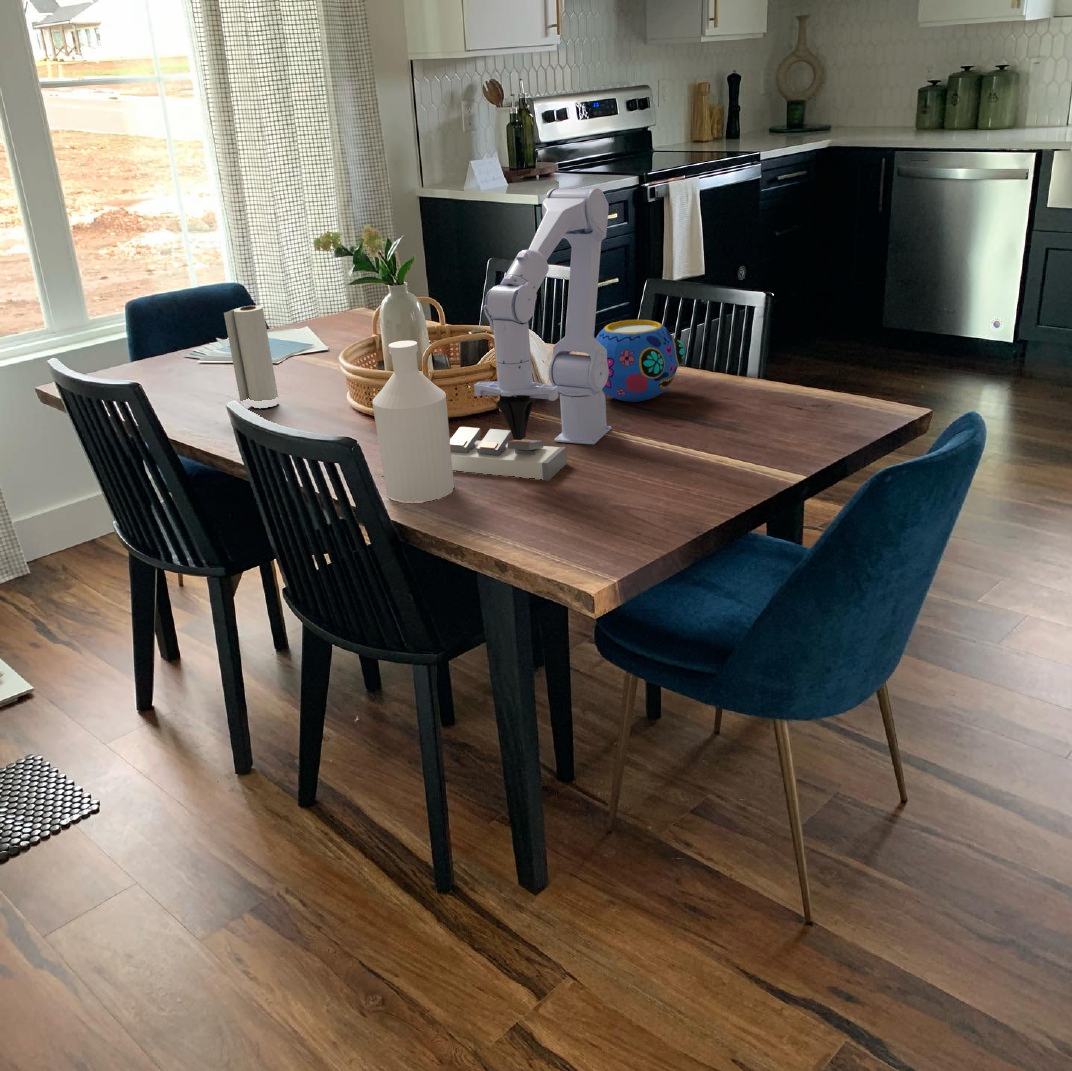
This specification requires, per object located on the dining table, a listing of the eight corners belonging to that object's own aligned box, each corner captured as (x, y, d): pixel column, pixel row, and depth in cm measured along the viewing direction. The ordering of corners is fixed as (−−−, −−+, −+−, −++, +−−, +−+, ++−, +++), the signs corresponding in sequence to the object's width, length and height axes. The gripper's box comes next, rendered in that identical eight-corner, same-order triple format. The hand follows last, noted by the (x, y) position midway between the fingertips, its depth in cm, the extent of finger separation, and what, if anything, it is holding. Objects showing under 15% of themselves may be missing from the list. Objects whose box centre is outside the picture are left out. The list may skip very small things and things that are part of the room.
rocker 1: (461, 432, 191) (459, 425, 190) (481, 433, 189) (479, 427, 189) (447, 451, 187) (445, 444, 186) (467, 453, 185) (465, 446, 184)
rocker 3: (522, 446, 187) (522, 438, 186) (543, 447, 185) (543, 439, 185) (507, 448, 181) (507, 440, 181) (529, 450, 180) (529, 442, 179)
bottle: (370, 493, 179) (350, 347, 169) (425, 473, 187) (408, 331, 177) (414, 510, 171) (396, 357, 161) (470, 487, 179) (455, 340, 169)
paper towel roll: (283, 401, 234) (266, 303, 225) (274, 409, 229) (257, 310, 220) (251, 402, 235) (233, 305, 226) (241, 410, 229) (223, 311, 221)
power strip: (421, 450, 198) (418, 432, 196) (566, 463, 186) (565, 444, 185) (398, 466, 191) (396, 447, 189) (548, 480, 179) (547, 460, 178)
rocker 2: (491, 434, 189) (490, 427, 188) (512, 436, 187) (510, 429, 186) (477, 453, 185) (476, 447, 184) (498, 455, 183) (497, 448, 182)
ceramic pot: (650, 416, 207) (648, 340, 201) (575, 404, 217) (571, 331, 211) (695, 392, 220) (694, 320, 213) (622, 382, 230) (619, 313, 224)
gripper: (463, 364, 175) (470, 442, 180) (544, 368, 169) (549, 449, 174) (482, 352, 180) (489, 429, 186) (561, 356, 175) (566, 435, 180)
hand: (519, 438), depth 180 cm, fingers closed
